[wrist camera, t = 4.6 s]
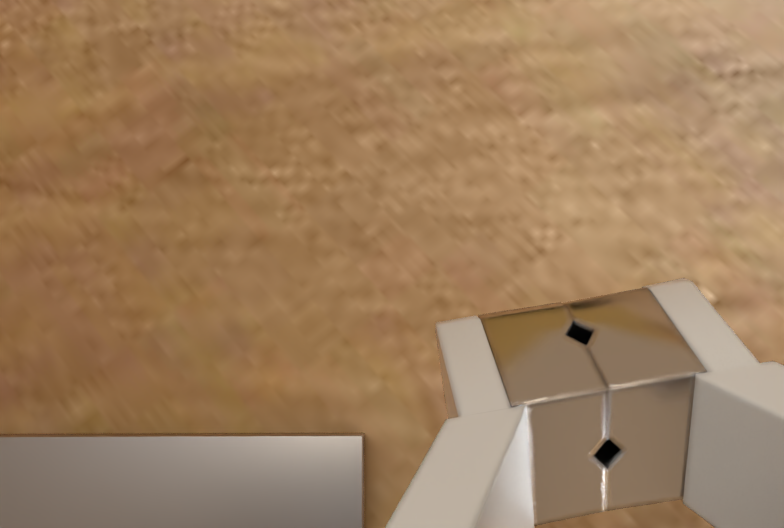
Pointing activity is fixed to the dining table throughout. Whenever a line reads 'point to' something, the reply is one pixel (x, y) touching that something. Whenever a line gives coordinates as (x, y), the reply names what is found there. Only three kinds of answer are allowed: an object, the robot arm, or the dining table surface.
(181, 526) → the play button award
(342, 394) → the dining table surface
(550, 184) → the dining table surface
